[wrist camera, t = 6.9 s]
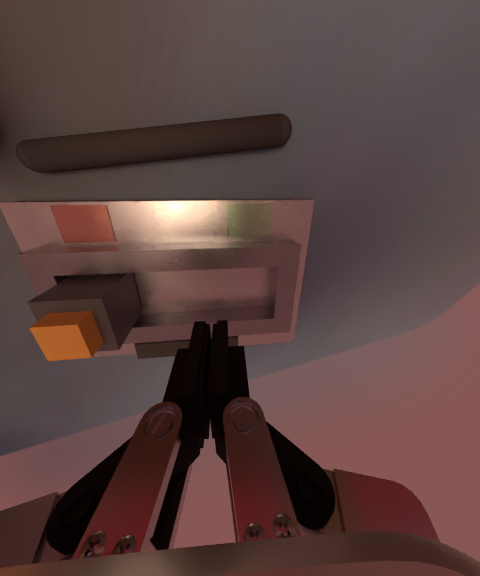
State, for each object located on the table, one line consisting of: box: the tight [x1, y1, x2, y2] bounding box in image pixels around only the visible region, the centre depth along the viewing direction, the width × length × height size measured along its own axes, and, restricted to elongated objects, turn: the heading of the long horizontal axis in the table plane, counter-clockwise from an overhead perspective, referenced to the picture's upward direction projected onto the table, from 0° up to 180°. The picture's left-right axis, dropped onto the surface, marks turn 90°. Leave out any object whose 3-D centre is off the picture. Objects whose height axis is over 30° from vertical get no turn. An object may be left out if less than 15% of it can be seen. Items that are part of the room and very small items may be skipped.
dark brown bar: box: [134, 336, 238, 359], centre depth 21 cm, size 10×2×2 cm, turn 90°
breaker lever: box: [28, 273, 142, 361], centre depth 14 cm, size 4×4×6 cm
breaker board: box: [0, 199, 314, 357], centre depth 17 cm, size 22×14×4 cm, turn 90°
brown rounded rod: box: [16, 114, 292, 173], centre depth 14 cm, size 18×2×2 cm, turn 96°
